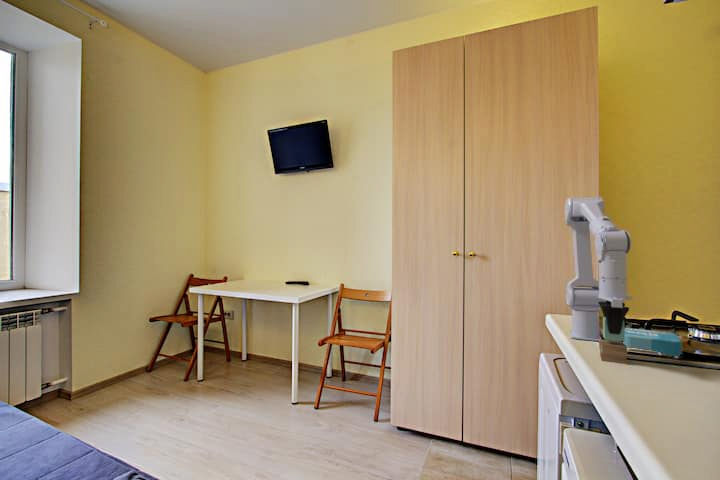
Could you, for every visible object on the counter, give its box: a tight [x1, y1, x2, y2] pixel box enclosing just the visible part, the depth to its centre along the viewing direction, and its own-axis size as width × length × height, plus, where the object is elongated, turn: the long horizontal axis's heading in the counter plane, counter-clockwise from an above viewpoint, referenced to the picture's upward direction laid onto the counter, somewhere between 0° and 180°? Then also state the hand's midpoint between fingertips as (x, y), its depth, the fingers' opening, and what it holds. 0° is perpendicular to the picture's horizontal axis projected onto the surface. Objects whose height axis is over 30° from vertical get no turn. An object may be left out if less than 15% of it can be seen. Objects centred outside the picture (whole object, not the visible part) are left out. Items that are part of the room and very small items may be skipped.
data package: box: [623, 327, 683, 356], centre depth 97 cm, size 12×4×12 cm
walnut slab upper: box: [598, 339, 628, 357], centre depth 89 cm, size 5×5×2 cm
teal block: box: [602, 316, 626, 342], centre depth 89 cm, size 4×4×5 cm
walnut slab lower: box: [599, 349, 627, 365], centre depth 89 cm, size 5×5×2 cm
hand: (613, 331), depth 89 cm, fingers closed on teal block, 4 cm apart
